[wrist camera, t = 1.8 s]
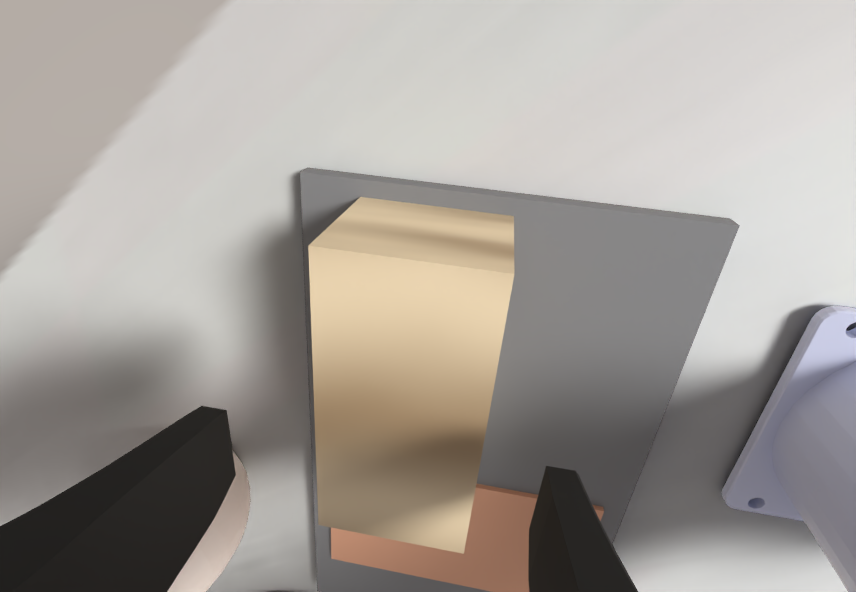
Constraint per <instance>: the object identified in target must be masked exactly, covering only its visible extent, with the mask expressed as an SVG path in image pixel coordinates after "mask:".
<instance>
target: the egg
mask: <svg viewBox="0 0 856 592" xmlns="http://www.w3.org/2000/svg"><path fill="white" fill-rule="evenodd" d="M233 458H234V465H235V472H236V476H235V478H234V480H233V482H232V484H231V486H230V488H229V490H228V492H227V495H226V497H225V499H224V501H223V503H222V505H221V507H220V509H219V511H218V512H217V514H216V516H215V518H214V520H213V521H212V523H211V525H210V526H209V528H208V529H207V531H206V533H205V534H204V536H203V537H202V539H201V540H200V542H199V544H198V545H197V547H196V548H195V550H194V551H193V553H192V554H191V556H190V557H189V559H188V561H187V562H186V564H185V565H184V567H183V568H182V570H181V571H180V573H179V574H178V576H177V577H176V579H175V581H174V582H173V584H172V585H171V587H170V588H169V590H168V591H167V592H206V591H207V590H208V589H209V588H210V586H211V585H212V584H213V583H214V582H215V580H216V579H217V578H218V577H219V575H220V574H221V573H222V572H223V570H224V569H225V567H226V565H227V564H228V562H229V561H230V559H231V557H232V556H233V554H234V552H235V551H236V549H237V547H238V545H239V543H240V541H241V539H242V536H243V534H244V531H245V528H246V524H247V520H248V515H249V509H250V502H251V501H250V486H249V481H248V477H247V473H246V470H245V468H244V467H243V465H242V463H241V461H240V460H239V458H238V457H237V455H236V454H235V453H234V451H233Z"/></svg>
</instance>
